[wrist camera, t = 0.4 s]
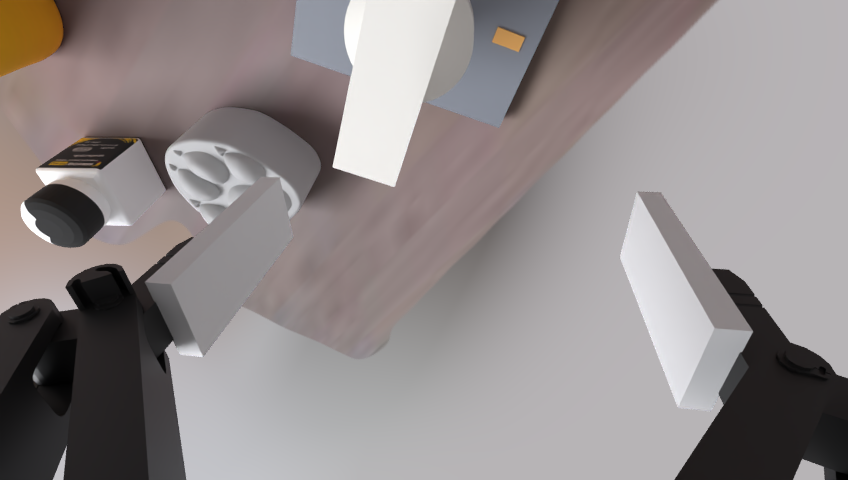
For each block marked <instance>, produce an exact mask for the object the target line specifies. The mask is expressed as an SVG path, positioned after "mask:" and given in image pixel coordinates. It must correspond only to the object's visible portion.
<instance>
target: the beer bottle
mask: <svg viewBox="0 0 848 480" xmlns="http://www.w3.org/2000/svg"><path fill="white" fill-rule="evenodd" d="M62 39H63V24H62V19H61V16H60V13H59V10H58V8H57V6H56V4H55V2H54V0H0V77H1V76H4V75H6V74H8V73H11V72H13V71H15V70H18V69H20V68H23V67H25V66H28V65H31V64H34V63H37V62H39V61H42V60H44V59H46V58H47V57H49V56H50V55H52V54H53V53H54V52H55V51H56V50H57V49H58V48H59V46H60V44H61V42H62Z"/></svg>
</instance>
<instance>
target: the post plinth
mask: <svg viewBox="0 0 848 480" xmlns="http://www.w3.org/2000/svg"><path fill="white" fill-rule="evenodd" d="M470 2H471V5H472V9H473V15H474V44H473V51H472V56H471V59H470V62H469V65H468V67H467V69H466V71H465V73H464V74H463V76H462V78H461V79H460V80H459V81H458V83H457V84H456V85H455V86H454V87H453V88H452V89H451V90H449V91H448V92H447V93H445V94H444V95H442V96H440V97H438V98H436V99H434V100H431V101H428V102H426V103H429V104H432V105H435V106H438V107H441V108H443V109H446V110H449V111H452V112H455V113H458V114H461V115H464V116H466V117H469V118H472V119H475V120H478V121H481V122H484V123H487V124H489V125H492V126H495V127H498V128H499V127H500V125H501V123H502V120H503V118H504V116H505V114H506V112H507V110H508V108H509V106H510V103H511V101H512V99H513V97H514V95H515V93H516V91H517V89H518V87H519V84H520V82H521V80H522V78H523V76H524V74H525V72H526V70H527V67H528V65H529V63H530V61H531V59H532V57H533V55H534V53H535V50H536V48H537V46H538V44H539V42H540V40H541V38H542V36H543V33H544V31H545V29H546V27H547V25H548V23H549V21H550V19H551V17H552V14H553V12H554V10H555V8H556V6H557V4H558V2H559V0H470ZM349 3H350V0H297V1H296V10H295V20H294V29H293V39H292V48H291V56H294V57H297V58H300V59H303V60H305V61H308V62H311V63H314V64H317V65H320V66H323V67H326V68H328V69H331V70H334V71H337V72H340V73H343V74H346V75H349V76H351V74H352V69H353V65H352V63H351V61H350V59H349V56H348V53H347V50H346V46H345V39H344V23H345V16H346V12H347V8H348V6H349Z"/></svg>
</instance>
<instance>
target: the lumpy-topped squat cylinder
mask: <svg viewBox="0 0 848 480" xmlns="http://www.w3.org/2000/svg"><path fill="white" fill-rule="evenodd" d="M165 165H166V168H167V171H168V174H169V176H170V178H171V180H172V182H173V184H174V185H175V187H176V188H177V190H178V191H179V192H180V193H181V195H182V196H183V197H184V198H185V199H186V200H187V201H188V202H189V203H190V204H191V205H192V206H193V207H194V208H195V209H196V210H197V211H198V212H200V213H201V215H202V217H203V218H204V220H205V221H206V222H207V223H208V224H210V223H211V222H212V221H213V220H214V219H215V218H216V217H217V216H218V215H220V214H221V213H222V212H223V211H224V210H225V209H226V208H227V207H228V206H230V205H231V204H232V203H233V202H234V201H235V200H236V199H237V198H238V197H239V196H241V195H242V194H243V193H244V192H245V191H246V190H247V189H248V188H249V187H251V186H252V185H253V184H254V183H255V182H256V181H257V180H258V179H259V178H261V177H280V181H281V185H282V190H283V194H284V198H285V203H286V207H287V211H288V216H289V220H290V219H291V218H292V217H293V216H294V215H295V214H296V213H297V212H298V211H299V210H300V208H301V206H302V204H303V203H304V201H305V199H306V197H307V195H308V193H309V191H310V189H311V187H312V186H313V184H314V182H315V180H316V178H317V176H318V174H319V172H320V170H321V162H320V159H319V157H318V155H317V153H316V152H315V150H314V149H313V148H312V147H311V146H310V145H309V144H308V143H307V142H306V141H304V140H303V139H302V138H300V137H299V136H298V135H297V134H295V133H294V132H293V131H291V130H290V129H288V128H287V127H285V126H284V125H282V124H281V123H279V122H277V121H276V120H274V119H272V118H271V117H269V116H267V115H265V114H263V113H261V112H258V111H255V110H250V109H244V108H237V107H223V108H218V109H215V110H212V111H210V112H208V113H206V114H205V115H204V116H203V117H202V118H201V119H199V120H198V121H197V122H196V123H195V124H194V125H193V126H192V127H190V128H189V129H188V130H187V131H186V132H185V133H184V134H183V135H181V136H180V137H179V138H178V139H177V140H176V141H175V142H174V143H173V144H172V145H171V146H170V147H169V148H168V149H167V151H166V154H165Z"/></svg>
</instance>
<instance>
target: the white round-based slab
mask: <svg viewBox="0 0 848 480" xmlns="http://www.w3.org/2000/svg"><path fill="white" fill-rule="evenodd" d="M344 39H345V46H346V50H347V53H348V56H349V59H350V61H351V63H352V65H353V69H352V74H351V79H350V83H349V88H348V93H347V98H346V103H345V108H344V113H343V118H342V123H341V128H340V133H339V138H338V143H337V147H336V152H335V157H334V162H333V168H336V169H339V170H342V171H345V172H349V173H352V174H355V175H358V176H361V177H364V178H367V179H371V180H374V181H377V182H380V183H383V184H386V185H389V186H392V187H395V184H396V181H397V178H398V175H399V172H400V169H401V166H402V163H403V160H404V157H405V153H406V150H407V147H408V144H409V141H410V138H411V135H412V132H413V129H414V126H415V123H416V120H417V117H418V114H419V111H420V108H421V105H422V103H424V102H428V101H431V100H434V99H436V98H438V97H440V96H442V95H444V94H445V93H447V92H448V91H449V90H451V89H452V88H453V87H454V86H455V85H456V84H457V83H458V81H459V80H460V79H461V78H462V76H463V74H464V73H465V71H466V69H467V67H468V65H469V62H470V59H471V56H472V51H473V44H474V15H473V9H472V5H471V2H470V0H350V3H349V6H348V8H347V12H346V16H345V23H344Z"/></svg>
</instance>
